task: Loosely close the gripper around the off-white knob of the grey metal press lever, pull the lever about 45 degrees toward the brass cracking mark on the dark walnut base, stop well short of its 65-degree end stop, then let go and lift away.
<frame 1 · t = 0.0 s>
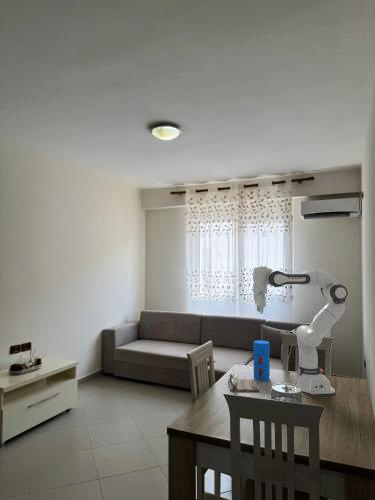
hand: (260, 312, 223), 48 cm above the table, fingers open, 8 cm apart
press base: (243, 386, 224), on the table
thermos: (261, 378, 240), on the table
lever: (233, 377, 224), point 5 cm above the table, hinge at 0.0°
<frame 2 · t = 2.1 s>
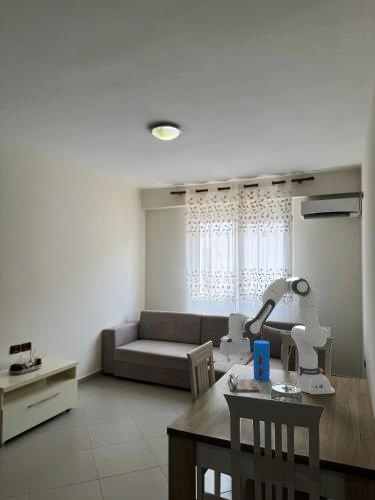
hand: (235, 360, 217), 19 cm above the table, fingers open, 8 cm apart
nothing on the table moved.
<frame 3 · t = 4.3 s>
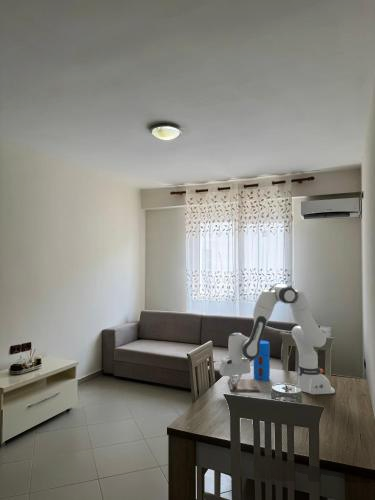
hand: (235, 381, 216), 6 cm above the table, fingers closed on lever, 3 cm apart
lever: (233, 377, 224), point 5 cm above the table, hinge at 0.1°, touching gripper
everything else where it was.
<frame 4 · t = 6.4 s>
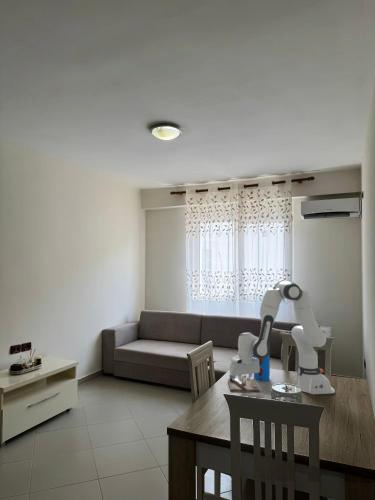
hand: (244, 381, 217), 6 cm above the table, fingers open, 4 cm apart
lever: (237, 377, 225), point 6 cm above the table, hinge at 21.3°, touching gripper
everything else where it was.
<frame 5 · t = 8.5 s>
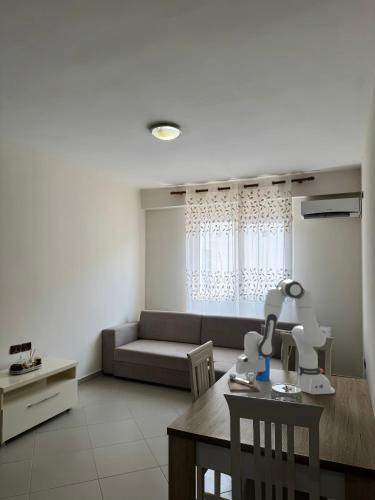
hand: (250, 379, 221), 6 cm above the table, fingers closed on lever, 3 cm apart
lever: (241, 376, 226), point 5 cm above the table, hinge at 44.4°, touching gripper
everything else where it was.
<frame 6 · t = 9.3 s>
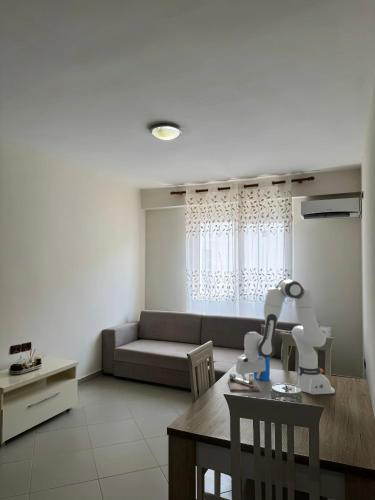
hand: (251, 379, 221), 6 cm above the table, fingers open, 8 cm apart
lever: (241, 376, 226), point 6 cm above the table, hinge at 44.4°
everything else where it was.
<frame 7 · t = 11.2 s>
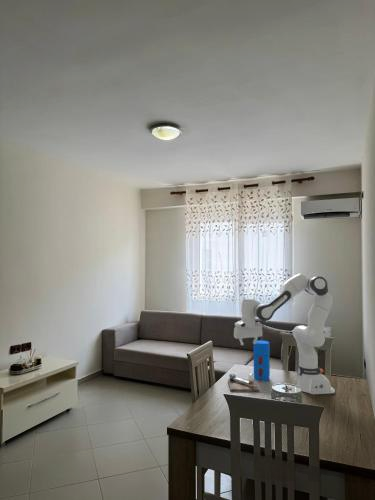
hand: (248, 344, 228), 26 cm above the table, fingers open, 8 cm apart
nothing on the table moved.
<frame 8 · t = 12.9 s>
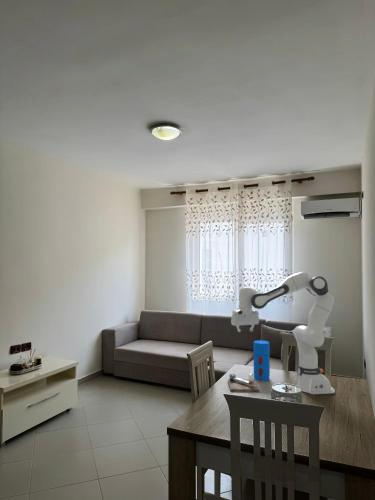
hand: (245, 331, 236), 33 cm above the table, fingers open, 8 cm apart
nothing on the table moved.
at the end: lever at +44° (first picture: +0°); the gripper is holding nothing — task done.
